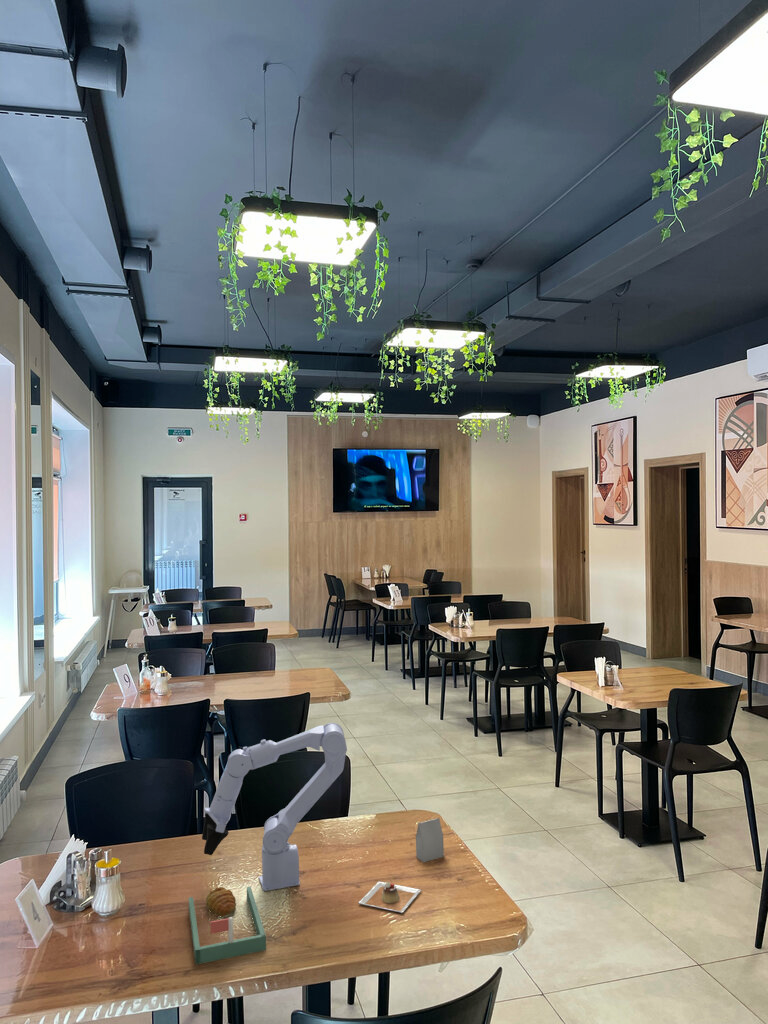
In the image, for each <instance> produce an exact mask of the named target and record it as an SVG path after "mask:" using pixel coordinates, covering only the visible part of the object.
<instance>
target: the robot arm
mask: <svg viewBox="0 0 768 1024" xmlns="http://www.w3.org/2000/svg"><path fill="white" fill-rule="evenodd" d="M320 747H321V748H320ZM305 748H311V749H313V750H316V751H318V752H320V751H321V749H322V750H323V753H324V763H323V764H322V765H321V767H320V768H318V770H317V771H316V772H315V773H314V774H313V776H312V777H311V778H310V779H309V781H308V782H306V783H305V785H304V786H303V787H302V788H301V789H300V790H299V792H298V793H297V794H296V795H295V796H294V797H293V798H292V800H291V801H289V803H288V805H286V806H285V808H282V809H280V810H279V811H278V813H276V814H274V815H273V816H270V817H269V818H268V819H267V820H266V821H265V823H264V824H263V825H264V826H263V837H262V846H261V869H262V872H261V873H262V875H259V877H258V879H259V881H260V885H261V889H262V891H264V892H268V891H274V890H279V889H284V888H285V889H286V888H291V887H295V886H300V885H301V882H300V856H299V850H298V845H297V844H290V842H289V841H288V840H289V838H290V837H291V836H292V834H294V831H295V829H296V827H297V825H298V823H299V822H300V821H301V820H302V819H303V818H304V816H305V815H307V813H308V812H309V811H310V810H311V808H313V806H314V805H315V804H316V803H317V802H318V800H319V799H320V798H321V797H322V796H323V794H325V792H326V791H327V790H328V789H329V788H330V787H331V786H332V784H333V783H334V782H335V781H336V780H338V779H337V778H338V777H339V776H340V775H341V774H342V773H343V771H344V768H345V761H346V755H347V752H348V747H347V742H346V738H345V734H344V729H343V727H342V726H341V725H340V724H338V723H336V722H328V723H326V724H324V725H323V724H322V725H317V726H316V727H313V728H311V729H308V730H306V731H303V732H300V733H299V734H294V735H293V736H291V737H287V738H286V739H282V740H280V741H277V742H275V741H273V740H271V739H269V740H266V739H264V738H263V739H261V740H260V743H257V744H255V745H252V746H251V745H250V746H243V747H242V749H241V748H238V749H235V750H233V751H232V752H231V753H230V754H229V755H228V756H227V762H226V768H224V771H223V774H222V775H221V778H220V780H219V783H218V784H217V785H218V786H217V789H216V791H215V794H214V796H213V799H212V801H211V804H210V807H204V809H203V812H204V822H203V823H204V825H203V830H202V834H201V840H204V841H205V843H204V844H205V845H204V849H203V853H204V854H205V855H208V856H212V855H213V854H214V853H215V851H216V849H217V848H218V846H219V845H220V844H221V842H222V841H223V840H224V839H225V838H226V837H228V835H229V830H228V829H226V826H227V824H228V823H229V821H230V819H231V817H232V815H231V814H232V812H233V809H234V807H235V805H236V801H237V798H238V796H239V794H240V791H241V788H242V785H243V782H244V781H243V780H244V777H245V776H246V775H247V774H248V773H249V772H250V770H251V771H253V770H256V769H258V768H262V767H264V766H267V765H270V764H273V763H276V762H277V761H278V759H279V757H280V756H281V755H285V754H289V753H293V752H295V751H298V750H302V749H305Z"/></svg>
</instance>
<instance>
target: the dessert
mask: <svg viewBox="0 0 768 1024" xmlns="http://www.w3.org/2000/svg"><path fill="white" fill-rule="evenodd" d="M390 882H391V883H390ZM381 888H383V890H382V893H381V898H380V900H381V901H382V902H383V903H386V904H394V903H397V902H399V900H400V895H399V893H398V891H402V892H407V893H412V894H413V895H412V897H410V899H409V900H408V901H407V903H405V905H403V907H402V909H401V910H397V909H396V910H395V909H391V908H387V907H383V906H382V907H381V906H378V905H373V904H368V901H369V900H370V899H371V898H372V897H373V896H374V895H375V894H376V893H377V892H378V890H380V889H381ZM421 891H422V889H420V888H415V887H409V886H406V885H405V886H404V885H399V884H395V883H393V882H392V880H391V879H390V881H387V882H385V881H384V882H383V881H377V882H376V884H375V885H374V886H373V887H372V888H371V889H370V890H368V892H367V893H365V895H364V896H363V897H362V898H361V899H360V900H359V901H358V902H357V904H360V905H362V906H367V907H371V908H376V909H380V910H384V911H391V912H395V913H399V914H402V913H404V912H405V911H406V910H407V909H408V907H409V906H410V904H412V902H413V901H414V900H415V899H416V898H417V897H418V895H419V894H420V893H421Z"/></svg>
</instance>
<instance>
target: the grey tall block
mask: <svg viewBox="0 0 768 1024" xmlns="http://www.w3.org/2000/svg"><path fill="white" fill-rule="evenodd" d="M440 820H441V819H440V817H438V818H433V819H429V820H425V821H422V822H418V825H417V829H416V834H415V851H416V852H415V854H416V858H417V859H418V860H419V861H421V863H426V862H430V861H434V860H437V859H440V858H443V857H444V856H445V855H444V852H445V851H444V850H445V848H444V833H443V830H442V826H441V821H440Z"/></svg>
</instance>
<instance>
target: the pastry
mask: <svg viewBox="0 0 768 1024" xmlns="http://www.w3.org/2000/svg"><path fill="white" fill-rule="evenodd" d="M236 902H237V901H236V897H235V895H234V893H233V892H232V890H230V889H226V887H223V886H219V887H216V888H214V889H213V890H211V891H210V892H209V893H208V895H207V897H206V898H205V906H206V908H207V910H208V911H209V910H210V911H211V912H212V913H214V914H216V915H217V916H216V915H215V916H216V917H218V916H221V917H220V918H222V917H223V918H226V917H228V916H231V915H233V914H235V911H236V909H237V903H236ZM210 911H209V912H210ZM211 912H210V913H211ZM212 913H211V914H212ZM214 914H213V915H214Z"/></svg>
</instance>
